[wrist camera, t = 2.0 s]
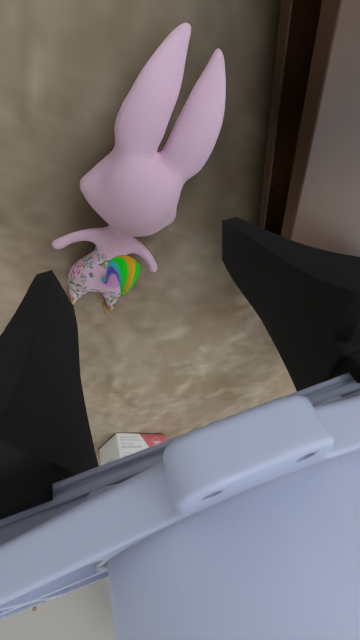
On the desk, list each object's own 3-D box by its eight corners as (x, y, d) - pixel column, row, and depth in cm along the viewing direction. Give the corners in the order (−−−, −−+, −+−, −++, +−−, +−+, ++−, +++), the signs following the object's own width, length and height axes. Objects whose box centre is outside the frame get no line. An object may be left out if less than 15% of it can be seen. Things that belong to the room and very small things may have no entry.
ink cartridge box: (165, 432, 43) (198, 553, 33) (146, 447, 45) (173, 565, 35) (115, 431, 37) (139, 575, 28) (97, 449, 39) (113, 588, 30)
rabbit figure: (126, 289, 22) (250, 72, 13) (136, 355, 19) (315, 132, 9) (38, 273, 19) (115, -39, 9) (34, 349, 16) (144, -6, 6)
